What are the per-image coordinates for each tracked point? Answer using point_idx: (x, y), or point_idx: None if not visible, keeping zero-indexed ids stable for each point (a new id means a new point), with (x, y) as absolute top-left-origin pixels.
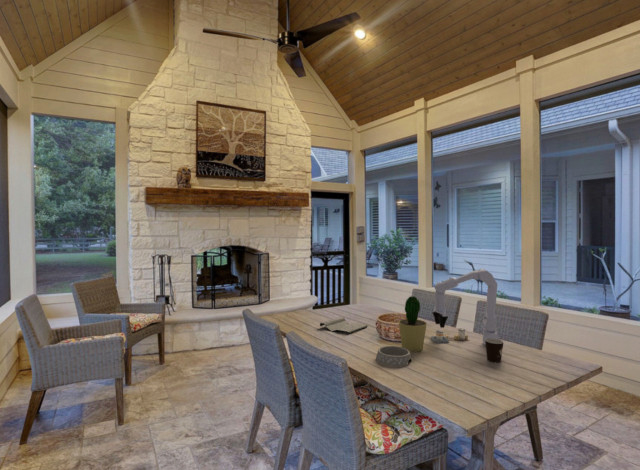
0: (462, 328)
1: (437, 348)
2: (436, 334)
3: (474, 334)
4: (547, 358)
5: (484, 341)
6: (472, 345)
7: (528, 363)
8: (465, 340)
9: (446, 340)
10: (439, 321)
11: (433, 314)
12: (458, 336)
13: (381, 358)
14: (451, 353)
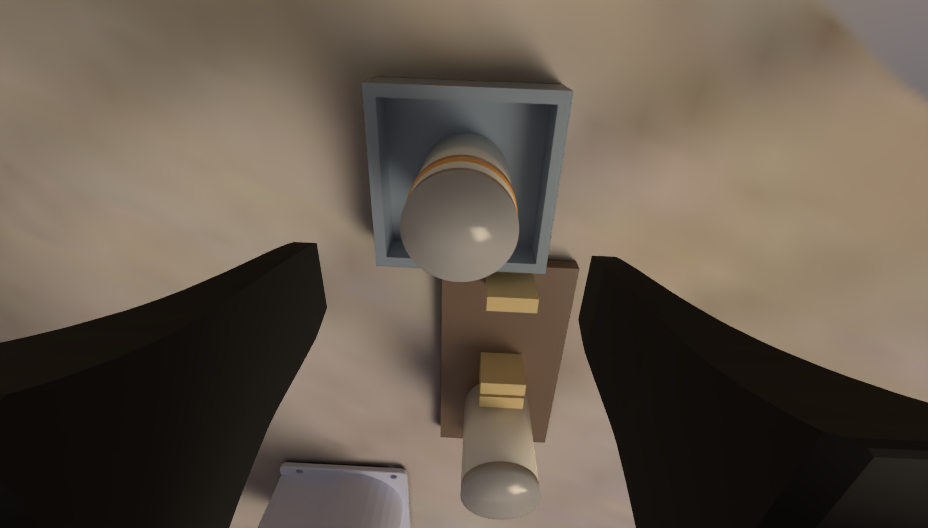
0: (530, 510)
1: (197, 32)
2: (459, 155)
3: (631, 518)
4: None
5: (331, 502)
6: (354, 409)
7: None
8: (452, 412)
9: (374, 237)
10: (222, 300)
11: (817, 392)
12: (479, 397)
13: None
14: (49, 138)
